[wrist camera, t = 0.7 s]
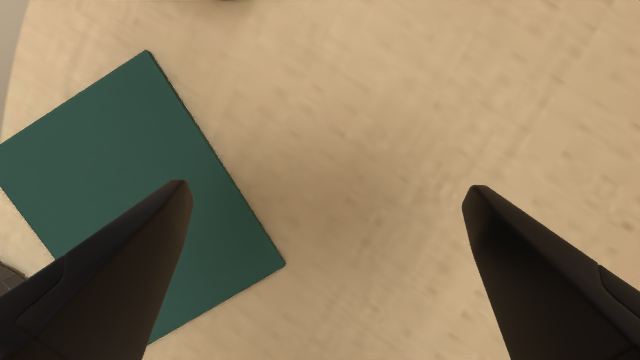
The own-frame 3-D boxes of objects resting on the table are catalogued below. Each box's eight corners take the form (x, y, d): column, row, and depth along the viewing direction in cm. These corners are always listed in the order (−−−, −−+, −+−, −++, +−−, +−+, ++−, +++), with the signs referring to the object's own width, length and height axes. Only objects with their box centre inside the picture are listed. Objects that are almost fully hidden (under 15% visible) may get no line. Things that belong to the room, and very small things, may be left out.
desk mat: (286, 263, 25) (285, 266, 25) (132, 351, 26) (128, 356, 26) (150, 51, 23) (145, 49, 22) (-14, 157, 24) (-22, 158, 23)
